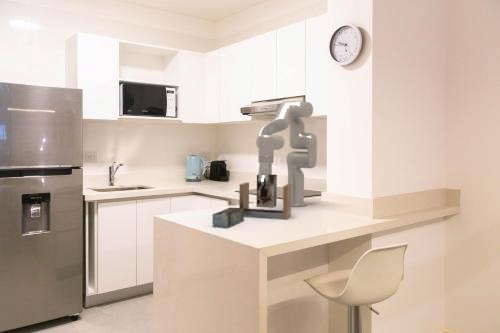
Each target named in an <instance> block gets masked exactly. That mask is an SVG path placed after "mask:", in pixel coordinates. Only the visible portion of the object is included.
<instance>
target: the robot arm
mask: <svg viewBox="0 0 500 333" xmlns="http://www.w3.org/2000/svg"><path fill="white" fill-rule="evenodd" d="M313 113H314V107H313V104H312V103H311V102H309V101H303V100H289V101H283V102H282V103H281V104H280V105H279V106H278V110H277V112H276V114H275V117H274V118H273V119H272V120H271V121H269V122H268V123H266V124H265V125H264V126H262V128H261V129H260V130H259V132H258V135H257V137H256V142H255V144H256V147H257V148H258V164H259V165H258V174H259V177H258V182H259V183H260V182H261V197H267V183H268V180H269V175H271V174H272V175H273V172H272V171H273V170H272V169H273V166H272V164H274V159H275V158H274V156H275V153H274V151H279V150H281V149H283V148H284V146H285V138H284V137H283V136H281V135H279V134H277V133H279V132H282V131H285V130H286V129H287V128H289V147H290V148H291V149H294V150H296V151H290V152H288V153H287V154H286V165H287V184H291V207H304V206H305V207H306V205H307V203H306V201H305V202H304V200H305V196H304V194H305V174H304V172H303V170H302V169H314V168H315V167H316V166H317V162H318V161H317V156H318V140H317V136H316V134H314V133H312V132H305V122H304V121H303V119H302V118H310V117H311V116H312V115H313ZM297 150H307V151H297ZM264 181H266V182H264Z"/></svg>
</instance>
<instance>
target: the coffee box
mask: <svg viewBox="0 0 500 333" xmlns="http://www.w3.org/2000/svg"><path fill="white" fill-rule="evenodd" d="M258 177H259V173H258V174H256V205H255V206H256V208H271V209H274V208H276V207H277V196H278V194H277V189H278V186H277V185H278V182H277V181H278V175H277V174H273V173H272V174H271V175H269V180H268V183H267V197H261V182H260V183H259V182H258ZM264 182H266V181H264Z"/></svg>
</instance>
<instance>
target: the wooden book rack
mask: <svg viewBox="0 0 500 333" xmlns="http://www.w3.org/2000/svg"><path fill="white" fill-rule="evenodd" d="M282 187H283V189H282V190H283V194H282V196H283V198H282V199H283V200H282V202H283V204H282V209H280V210H279V209H263V208H250V182H244V183H241V184H239V193H238V194H239V198H238V200H239V201H238V202H239V205H238V208H243V209H244V218H254V219H255V218H257V219H272V220H288V219H289V218H290V217H291V215H292V213H291V212H292V206H291V184H288V183H287V184H285V185H284V186H282Z"/></svg>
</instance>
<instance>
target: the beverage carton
mask: <svg viewBox="0 0 500 333" xmlns="http://www.w3.org/2000/svg"><path fill="white" fill-rule="evenodd" d="M211 219H212V221H211V222H212V223H211V224H212V227H213V228H219V229H220V228H221V229H229V228H231V227H233V226H235V225H238V224H240V223H241V222H243V221H244V220H245V217H244V209H243V208H239V207H227V208H224V209H223V210H221V211H218V212H215V213H213V214H212V218H211Z"/></svg>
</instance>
